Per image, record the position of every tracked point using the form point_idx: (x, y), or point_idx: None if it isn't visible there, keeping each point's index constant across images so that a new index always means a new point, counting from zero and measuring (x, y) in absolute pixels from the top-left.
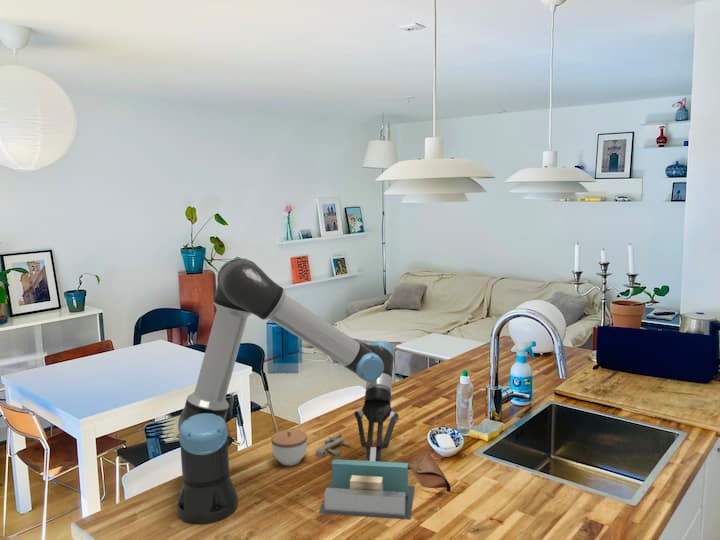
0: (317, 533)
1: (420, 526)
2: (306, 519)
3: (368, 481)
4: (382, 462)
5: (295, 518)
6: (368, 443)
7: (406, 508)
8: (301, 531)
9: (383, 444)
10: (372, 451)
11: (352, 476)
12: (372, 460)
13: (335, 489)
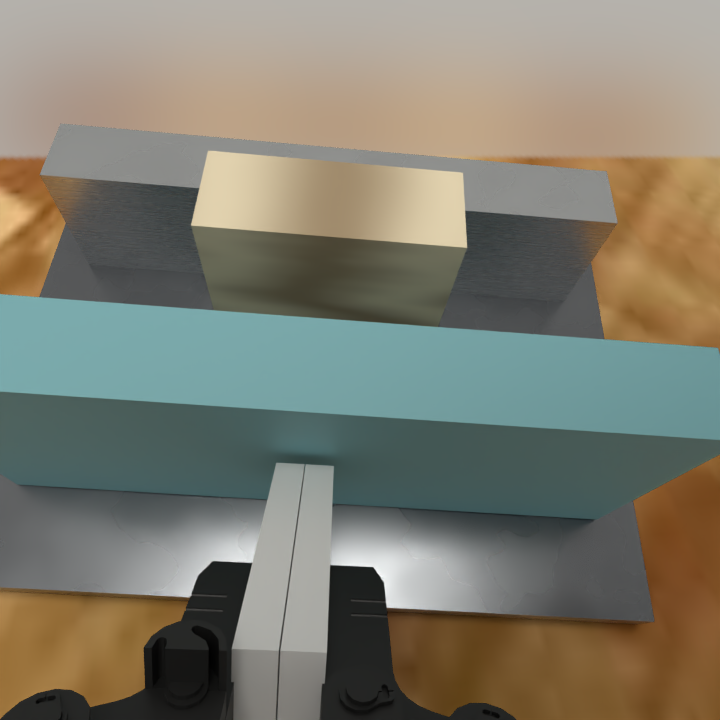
0: (536, 157)
1: (35, 202)
2: (629, 244)
3: (313, 166)
4: (170, 389)
5: (687, 251)
6: (372, 717)
7: (77, 288)
8: (611, 168)
9: (85, 700)
10: (296, 602)
11: (456, 228)
12: (295, 524)
13: (547, 203)
